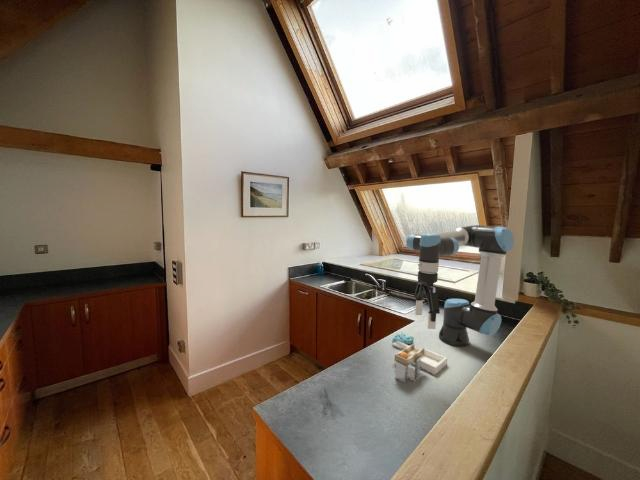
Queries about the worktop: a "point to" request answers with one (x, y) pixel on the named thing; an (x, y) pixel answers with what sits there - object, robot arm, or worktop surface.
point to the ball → (404, 355)
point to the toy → (403, 339)
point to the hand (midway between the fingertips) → (424, 321)
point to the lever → (411, 352)
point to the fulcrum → (408, 372)
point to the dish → (432, 362)
